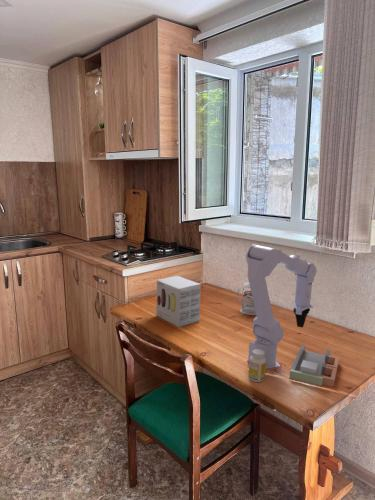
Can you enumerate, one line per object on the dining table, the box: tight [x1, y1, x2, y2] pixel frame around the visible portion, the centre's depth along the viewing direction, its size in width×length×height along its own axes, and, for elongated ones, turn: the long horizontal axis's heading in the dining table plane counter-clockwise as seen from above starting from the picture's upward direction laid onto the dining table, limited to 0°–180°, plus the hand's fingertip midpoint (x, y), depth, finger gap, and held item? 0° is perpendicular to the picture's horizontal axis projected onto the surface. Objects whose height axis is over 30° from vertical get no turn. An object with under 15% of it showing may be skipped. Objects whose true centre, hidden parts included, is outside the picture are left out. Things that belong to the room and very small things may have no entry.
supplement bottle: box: [248, 349, 267, 383], centre depth 125 cm, size 5×5×10 cm
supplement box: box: [155, 275, 202, 328], centre depth 175 cm, size 17×13×18 cm
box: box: [289, 344, 340, 388], centre depth 133 cm, size 23×14×3 cm, turn 153°
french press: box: [236, 281, 257, 316], centre depth 186 cm, size 10×12×25 cm
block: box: [300, 360, 318, 375], centre depth 127 cm, size 5×5×4 cm
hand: (300, 326), depth 145 cm, fingers closed
